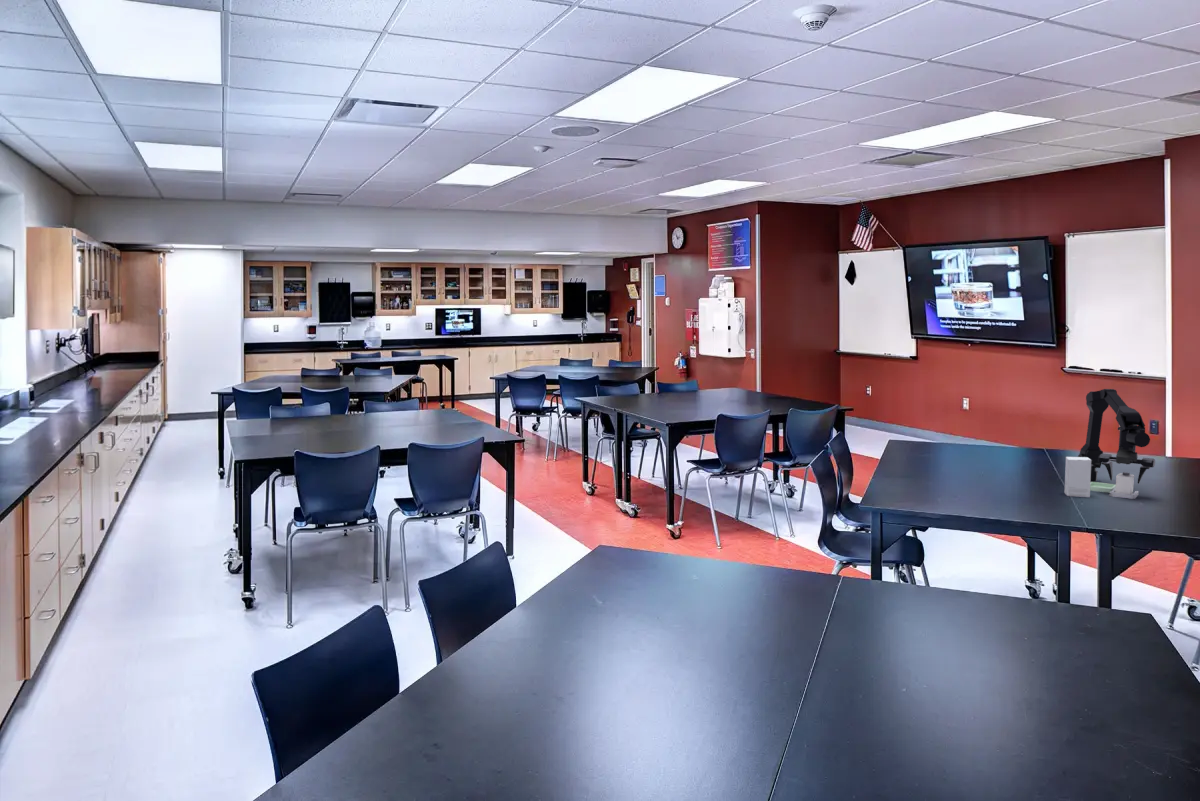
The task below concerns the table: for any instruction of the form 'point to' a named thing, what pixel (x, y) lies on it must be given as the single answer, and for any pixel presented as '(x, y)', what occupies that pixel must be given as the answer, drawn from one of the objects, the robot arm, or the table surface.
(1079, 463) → the skincare box
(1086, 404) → the robot arm
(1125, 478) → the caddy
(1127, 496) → the dock
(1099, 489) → the tray
